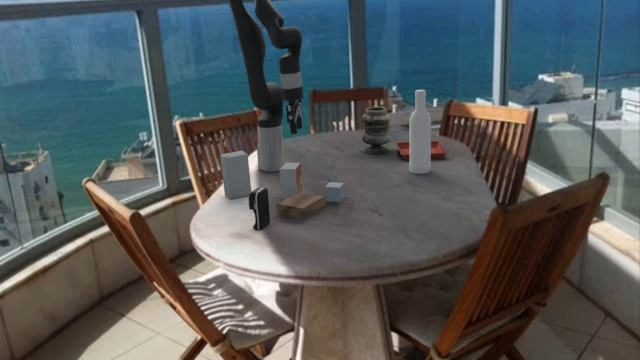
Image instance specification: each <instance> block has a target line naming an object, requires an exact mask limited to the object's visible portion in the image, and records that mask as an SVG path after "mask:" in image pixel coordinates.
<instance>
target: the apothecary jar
mask: <svg viewBox="0 0 640 360" xmlns="http://www.w3.org/2000/svg"><path fill="white" fill-rule="evenodd" d="M364 112H365V113H364V114H363V115H362V116H361V121H362V122H363V123H364V133H363V134H362V135H361V140H362V142H363V143H364V144H367V145H369V146H368V147H366V148H365V149H364V152H365V153H367V154H383V153H388V151H389V148H387V147H385V146H383V145H386V144H388V143H389V142H390V141H391V139H392V135H391V134H390V133H389V130H388V129H389V128H388V127H389V126H388V123H389V122H390V121H391V119H392V117H391V115H390V113H389V112H388V110H387V108H386V107H384V106H370V107H366V109H365V111H364Z"/></svg>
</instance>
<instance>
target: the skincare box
mask: <svg viewBox="0 0 640 360" xmlns="http://www.w3.org/2000/svg"><path fill="white" fill-rule="evenodd" d="M219 157H220V158H219V159H220V168H221V175H222V182H223V183H222V184H223V190H224V195H225V196H226V197H227V198H228V199H229V200H233V199H239V198H243V197H249V194H250V193H251V192H252V185H251V184H252V183H251V175H250V174H251V173H250V163H249V155H248V153H247V152H245V151H243V150H237V151H232V152H228V153H222V154H219Z"/></svg>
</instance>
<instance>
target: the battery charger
mask: <svg viewBox="0 0 640 360" xmlns="http://www.w3.org/2000/svg"><path fill="white" fill-rule="evenodd" d="M248 209H249V210H251V211H252V212H253V213H254V219H255V221H254V224H253V226H252V228H253V230H258V231H260V230H263V229H264V228H265V227H267V225H268V224H269V223H271V218H270V200H269V190H268V188H267V187H256V188H254V189H253V190H251V193H250V194H249V196H248Z"/></svg>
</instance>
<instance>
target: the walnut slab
mask: <svg viewBox="0 0 640 360" xmlns="http://www.w3.org/2000/svg"><path fill="white" fill-rule="evenodd" d="M324 208H326V199H325V195H320V194H319V195H318V194H312V193H306V192H302V193H300V192H298V193H296V194H294V195H292V196H290V197H288V198H286V199H283V200H280V201H279V202H277V203H276V215H277V216H282V215H285V216H284V217H287V216H290V217H289V218H293V217H294V218H293V219H299V220H306V219H307V218H310V217H311V216H313V215H314V214H316V213H317V212H319V211H322V210H323V209H324Z"/></svg>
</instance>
